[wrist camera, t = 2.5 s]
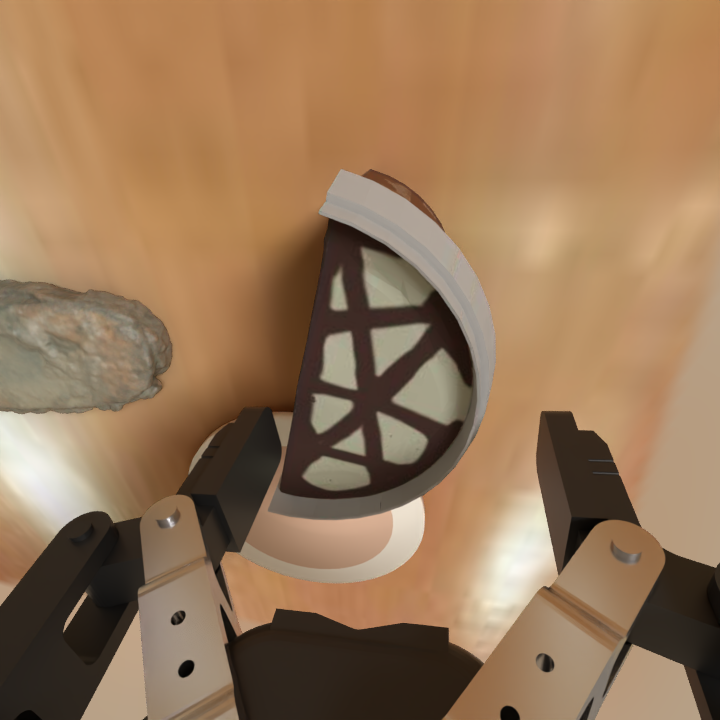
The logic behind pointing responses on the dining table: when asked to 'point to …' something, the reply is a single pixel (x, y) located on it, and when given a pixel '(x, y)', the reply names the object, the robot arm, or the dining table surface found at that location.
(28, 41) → the dining table surface
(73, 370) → the elongated rock
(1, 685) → the robot arm
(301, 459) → the food container
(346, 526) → the dish
